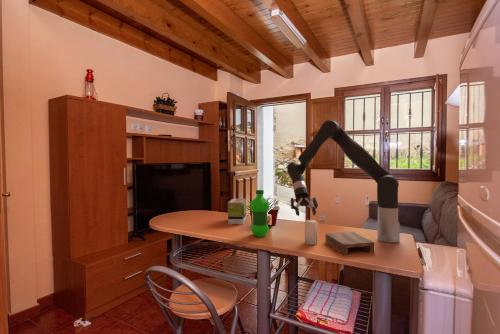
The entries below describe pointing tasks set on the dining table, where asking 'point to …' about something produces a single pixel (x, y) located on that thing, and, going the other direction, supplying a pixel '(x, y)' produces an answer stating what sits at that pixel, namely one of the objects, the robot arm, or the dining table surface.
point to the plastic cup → (274, 214)
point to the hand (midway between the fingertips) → (306, 214)
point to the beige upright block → (310, 232)
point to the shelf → (348, 241)
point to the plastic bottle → (259, 214)
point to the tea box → (237, 211)
